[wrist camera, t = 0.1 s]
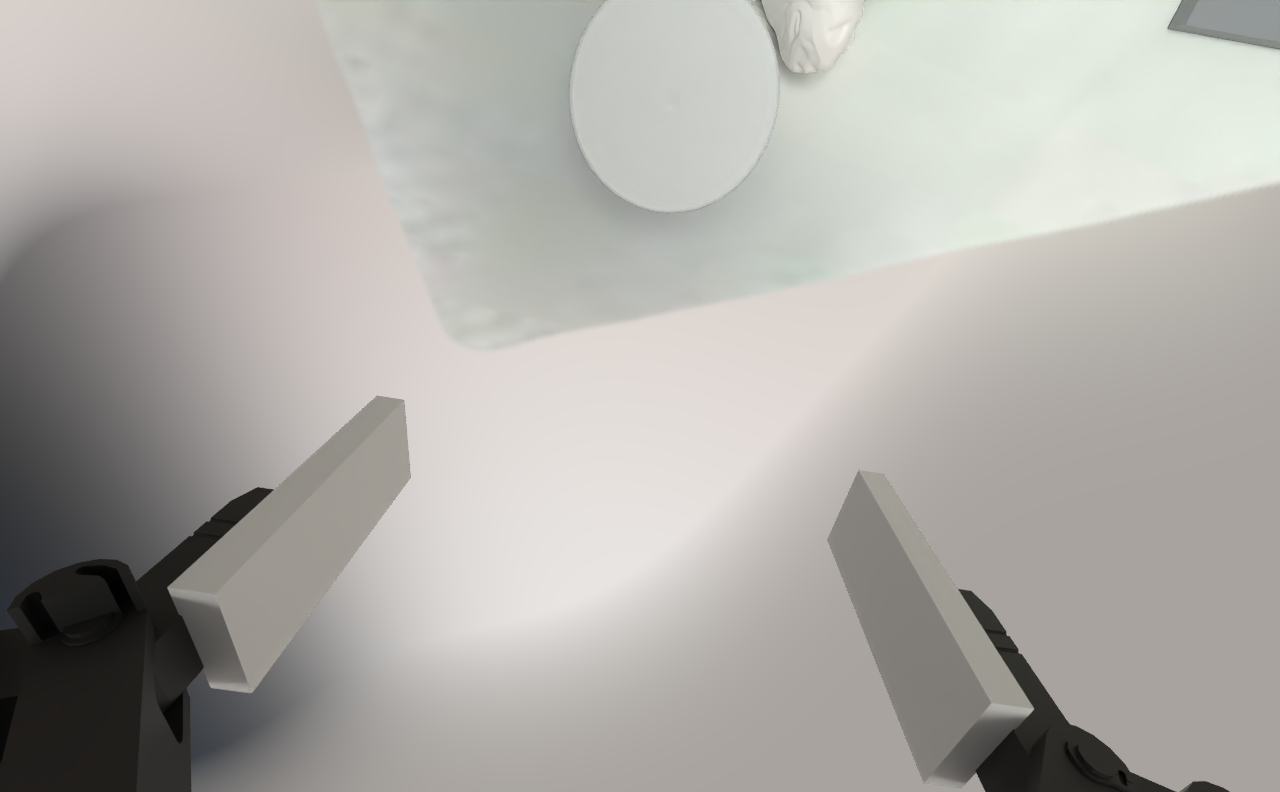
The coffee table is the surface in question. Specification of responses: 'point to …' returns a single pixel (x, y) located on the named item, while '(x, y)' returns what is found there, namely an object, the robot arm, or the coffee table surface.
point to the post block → (1231, 20)
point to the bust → (813, 30)
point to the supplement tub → (674, 99)
